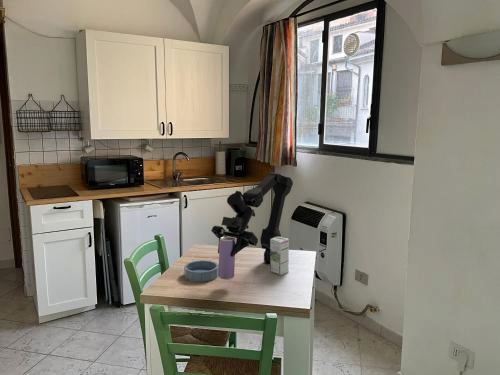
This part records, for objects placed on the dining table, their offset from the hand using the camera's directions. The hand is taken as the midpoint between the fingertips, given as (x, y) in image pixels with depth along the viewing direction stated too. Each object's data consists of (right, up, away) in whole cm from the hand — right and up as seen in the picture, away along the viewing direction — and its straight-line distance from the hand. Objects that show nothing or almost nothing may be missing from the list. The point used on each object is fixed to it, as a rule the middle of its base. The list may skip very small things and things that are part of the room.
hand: (224, 254), depth 151 cm
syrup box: (+22, -11, +19) cm, 31 cm away
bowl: (-10, -11, +15) cm, 21 cm away
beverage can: (0, -9, +2) cm, 9 cm away
